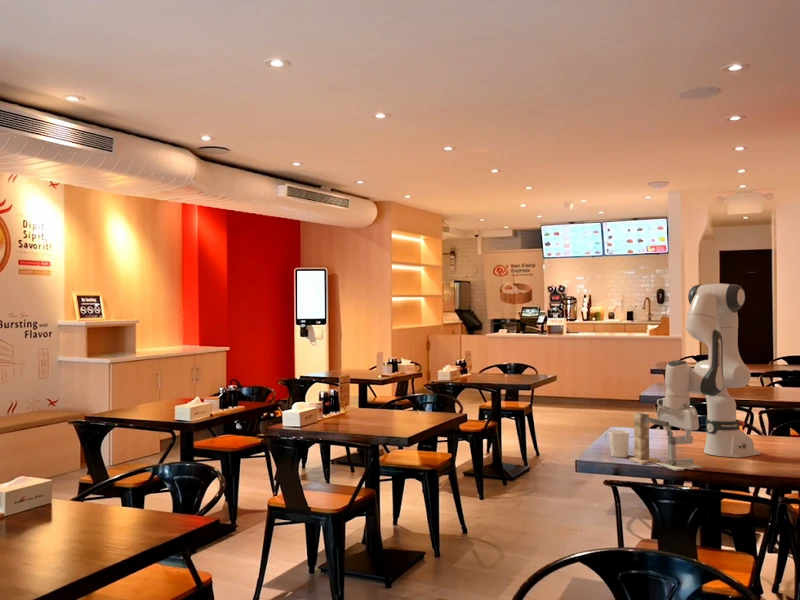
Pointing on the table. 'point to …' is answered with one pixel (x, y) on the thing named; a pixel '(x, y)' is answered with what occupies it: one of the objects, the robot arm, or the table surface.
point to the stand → (644, 437)
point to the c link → (672, 451)
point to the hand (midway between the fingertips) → (677, 438)
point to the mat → (678, 466)
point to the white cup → (619, 443)
